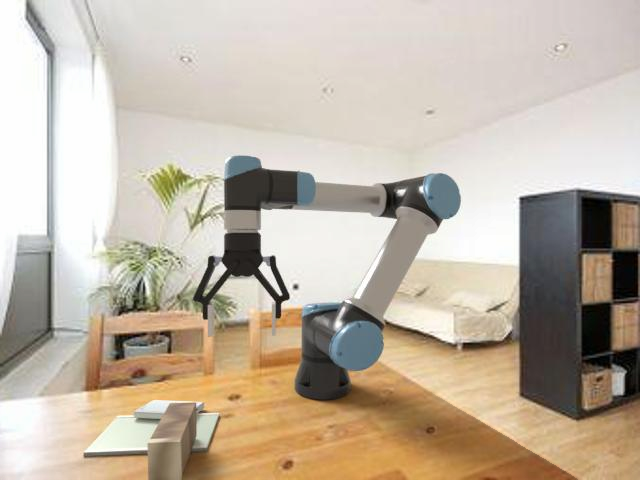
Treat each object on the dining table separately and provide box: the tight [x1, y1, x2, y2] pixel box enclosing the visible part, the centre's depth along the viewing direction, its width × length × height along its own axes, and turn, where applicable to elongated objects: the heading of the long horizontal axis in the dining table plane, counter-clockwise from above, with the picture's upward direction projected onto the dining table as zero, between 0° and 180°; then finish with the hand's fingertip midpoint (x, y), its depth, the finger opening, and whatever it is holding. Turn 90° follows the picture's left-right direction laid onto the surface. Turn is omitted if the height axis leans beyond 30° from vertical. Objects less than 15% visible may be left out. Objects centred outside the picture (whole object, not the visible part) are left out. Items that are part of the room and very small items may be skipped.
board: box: [83, 412, 220, 457], centre depth 76 cm, size 22×14×1 cm, turn 96°
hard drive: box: [133, 399, 205, 419], centre depth 84 cm, size 2×8×12 cm
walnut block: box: [147, 401, 197, 480], centre depth 67 cm, size 5×7×12 cm
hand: (242, 334), depth 78 cm, fingers open, 12 cm apart
